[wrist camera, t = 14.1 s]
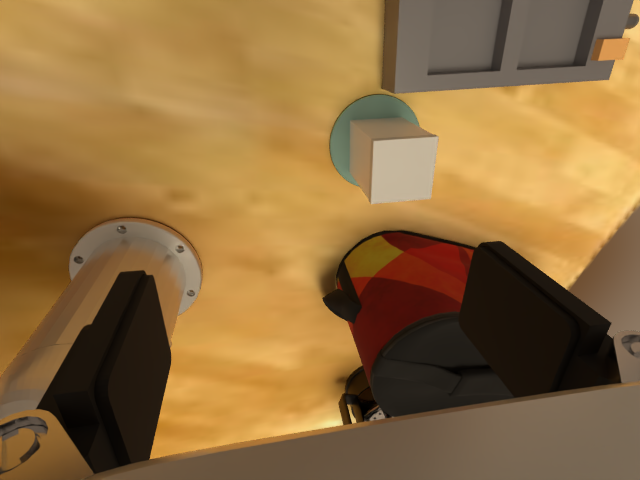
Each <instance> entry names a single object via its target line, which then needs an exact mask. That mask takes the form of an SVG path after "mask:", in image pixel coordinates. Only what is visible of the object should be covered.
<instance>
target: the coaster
mask: <svg viewBox="0 0 640 480" xmlns="http://www.w3.org/2000/svg"><path fill="white" fill-rule="evenodd" d="M397 117H402V118H404V119H406V120H408V121H409V122H411V123H413V124H415V125H417V126H418V127H419V123H418V120H417V118H416V116H415V114H414V112H413V111H412V110H411V108H410V107H409V106H408V105H406V104H405V103H404V102H402V101H401V100H399V99H397V98H395V97H392V96H389V95H370V96H366V97H363V98H361V99H359V100H357V101H355V102H353V103H352V104H351V105H349V106H348V107H347V108H346V109H345V110H344V111H343V112H342V113H341V115H340V116H339V117H338V119H337V121H336V122H335V125H334V127H333V130H332V133H331V138H330V154H331V158H332V161H333V164H334V166H335V167H336V169H337V171H338V172H339V173H340V175H341V176H342V177H343V178H344V179H346V180H347V181H348V182H350V183H352V184H354V185H356V186H359V185H358V183H357V182H356V181H355V179H354V178H353V176H352V175H351V174H350V172H349V165H350V120H364V119H380V118H397ZM359 187H360V186H359Z"/></svg>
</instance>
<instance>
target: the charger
mask: <svg viewBox="0 0 640 480" xmlns="http://www.w3.org/2000/svg"><path fill="white" fill-rule="evenodd" d="M437 145H438V136H436V135H433V134H431V133H429V132H427V131H426V130H424V129H422V128H420V127H418V126H417V125H415V124H413V123H411V122H409V121H408V120H406V119H404V118H402V117H397V118H380V119H364V120H350V165H349V172H350V174H351V175H352V176H353V178H354V179H355V181H356V182H357V183H358V185H359V186H360V188H361V189H362V191H363V192H364V193H365V195H366V196H367V198H368V199H369V202H370V203H371V204H378V203H389V202H400V201H411V200H423V199H431V193H432V185H433V177H434V169H435V161H436V153H437Z"/></svg>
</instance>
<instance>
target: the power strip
mask: <svg viewBox="0 0 640 480" xmlns="http://www.w3.org/2000/svg"><path fill="white" fill-rule="evenodd" d="M632 4H633V0H385V25H384V50H383V75H382V89H385V90H387V91H389V92H392V93H394V94H396V93H412V92H427V91H443V90H458V89H473V88H489V87H504V86H520V85H535V84H551V83H566V82H582V81H597V80H609V78H610V74H611V71H612V68H613V65H614V62H615V60H620V59H623V58H624V55H625V52H626V49H627V46H628V43H629V39H630V38H622V36H623V33H624V29H631V28H633V27H635V26H636V25H637V24H638V22H639V16H638V15H636V14H629V13H630V10H631V7H632Z"/></svg>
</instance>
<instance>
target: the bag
mask: <svg viewBox="0 0 640 480" xmlns="http://www.w3.org/2000/svg"><path fill="white" fill-rule="evenodd" d="M474 249H475V247H471V246H468V245H464V244H460V243H457V242H452V241H448V240H444V239H439V238H435V237H430V236H426V235H422V234H417V233H413V232H408V231H382V232H378V233H375V234H372V235H370V236H368V237H366V238H364V239H363V240H361V241H360V242H358V243H357V244H356V245H355V246H354V247H353V248H352V249H351V250H350V251H349V252H348V253H347V254H346V255H345V256H344V258H343V260H342V262H341V263H340V265H339V268H338V272H337V275H336V283H337V289H336V290H335V291H333V292H332V293H330V294H328V295H327V296H325V297H323V301H324V303H325V305H326V306H327V307H328V308H329V309H330V310H331V311H332V312H333V313H334V314H336V315H337V316H339V317H340V318H342V319H344V320H346V321H348V324H349V327H350V330H351V332H352V335H353V338H354V341H355V344H356V347H357V350H358V352H359V355H360V358H361V361H362V364H363V367H364V370H365V373H366V376H367V379H368V382H369V385H370V388H371V391H372V395H373V397H374V399H375V401H376V402H377V404H378V405H379V407H380V408H381V409H382V410H383V411H385V412H386V413H387V414H389V415H390V416H393V417H398V416H404V415H410V414H416V413H423V412H429V411H435V410H442V409H448V408H454V407H461V406H467V405H473V404H480V403H486V402H493V401H499V400H506V399H512V398H515V397H514V396H513V395H512V394H511V392H510V391H509V390H508V388H507V387H506V386H505V385H504V383H503V382H502V381H501V379H500V378H499V377H498V376H497V374H496V373H495V372H494V371H493V369H492V368H491V367H490V365H489V364H488V363H487V362H486V360H485V359H484V358H483V356H482V355H481V354H480V353H479V351H478V350H477V349H476V347H475V346H474V345H473V344H472V342H471V341H470V340H469V338H468V337H467V336H466V335H465V333H464V332H463V331H462V329H461V328H460V325H459V320H458V318H459V313H460V308H461V304H462V299H463V295H464V291H465V286H466V282H467V277H468V273H469V268H470V264H471V259H472V255H473V251H474Z"/></svg>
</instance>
